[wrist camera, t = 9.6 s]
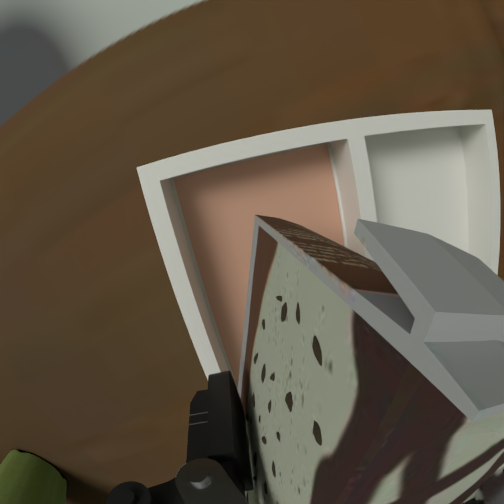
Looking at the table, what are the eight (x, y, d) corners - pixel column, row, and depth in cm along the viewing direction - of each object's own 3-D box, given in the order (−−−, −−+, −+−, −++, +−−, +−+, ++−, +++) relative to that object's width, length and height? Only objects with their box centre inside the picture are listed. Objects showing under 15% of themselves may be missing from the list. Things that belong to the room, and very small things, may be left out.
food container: (348, 428, 15) (415, 583, 5) (232, 435, 14) (252, 622, 5) (415, 192, 11) (654, 289, 2) (258, 170, 10) (523, 320, 1)
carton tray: (459, 111, 15) (491, 109, 13) (464, 325, 20) (486, 344, 18) (151, 164, 15) (136, 167, 12) (229, 402, 20) (231, 434, 17)
